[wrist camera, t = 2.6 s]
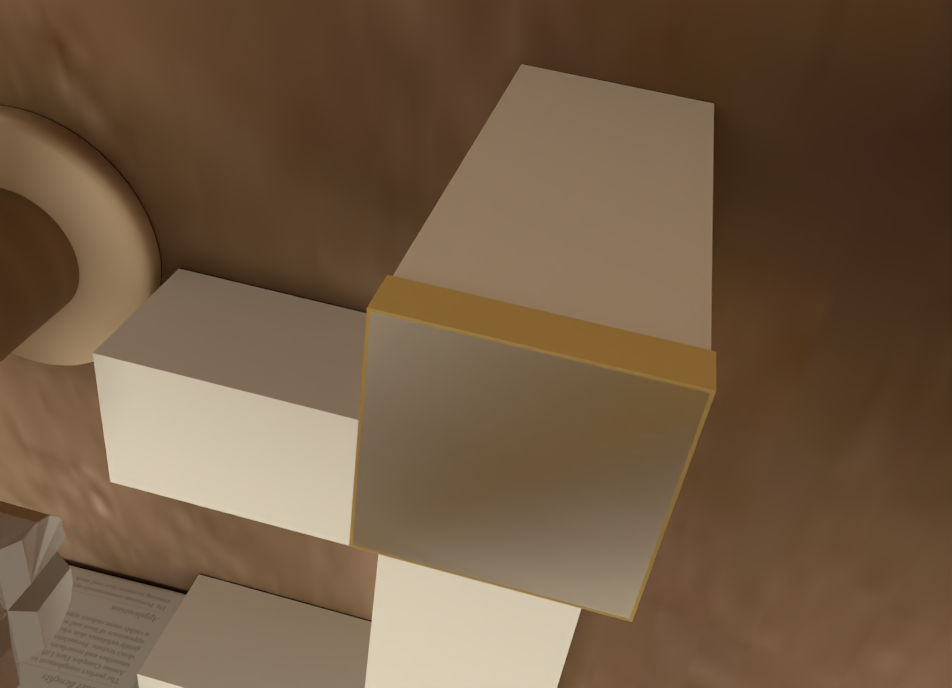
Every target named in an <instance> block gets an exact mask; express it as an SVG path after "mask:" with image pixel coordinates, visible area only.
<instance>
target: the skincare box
mask: <svg viewBox="0 0 952 688" xmlns="http://www.w3.org/2000/svg"><path fill="white" fill-rule="evenodd" d="M69 566H70V565H69ZM70 567H71V574H72V580H73V585H72V594H71V602H70V604H69V607H68V609H67V612H66V614H65V616H64V619H63V621H62V624H61V626H60V628H59V630H58V631H57V633H56V634H55V635H54V637H53V638H52V640H51V641H50V643H49V644H48V646H47V647H46V648H45V650H43V651H41V652H39V653H37V654H36V655H34V656H32V657H30V658H28V659H26V660H24V661H22V662H20V663H19V672H20V685H19V686H18V687H17V688H139V685H138V677H137V673H138V672H139V670H140V668H141V667H142V665H143V664H144V662H145V660H146V659H147V657H148V656H149V654H150V652H151V651H152V649H153V648H154V646H155V644H156V643H157V641H158V639H159V638H160V636H161V635H162V633H163V631H164V630H165V628H166V627H167V625H168V623H169V622H170V620H171V619H172V617H173V615H174V614H175V612H176V611H177V609H178V607H179V606H180V604H181V603H182V601H183V599H184V598H185V596H186V595H185V594H182V593H178V592H174V591H170V590H167V589H163V588H159V587H155V586H151V585H147V584H142V583H138V582H134V581H130V580H126V579H122V578H118V577H114V576H110V575H106V574H102V573H98V572H94V571H90V570H86V569H82V568H78V567H74V566H70Z"/></svg>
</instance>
